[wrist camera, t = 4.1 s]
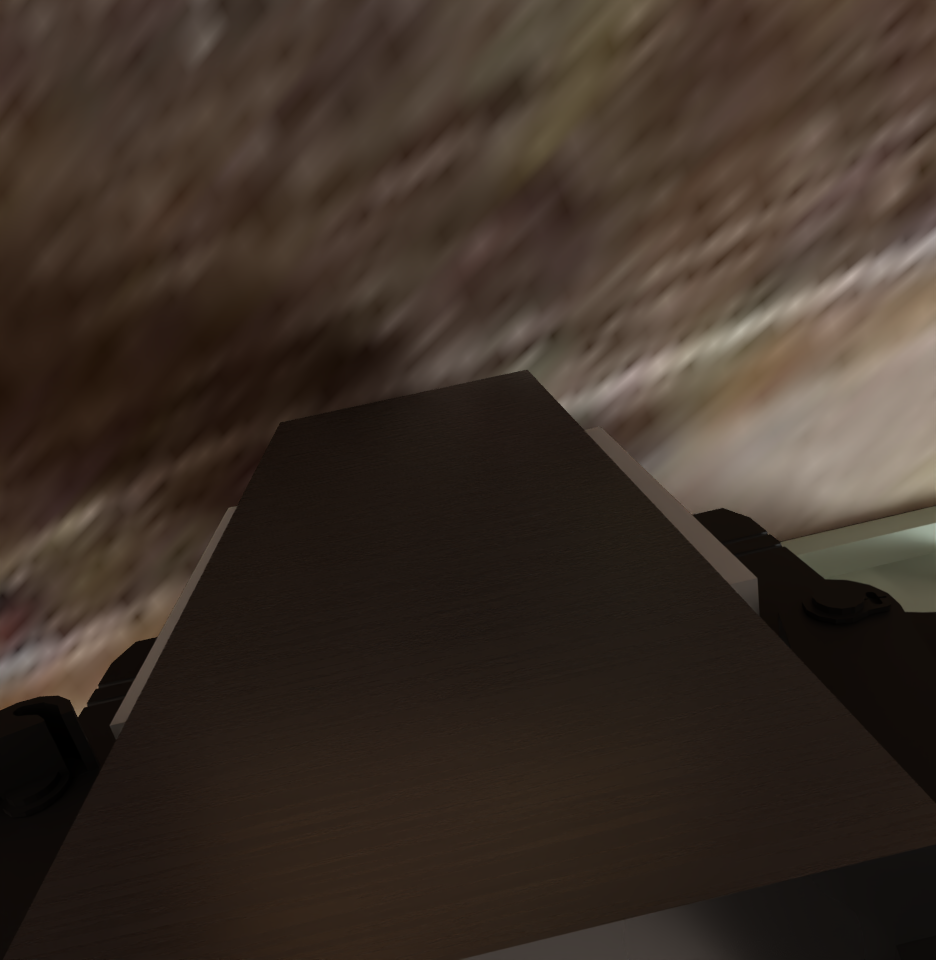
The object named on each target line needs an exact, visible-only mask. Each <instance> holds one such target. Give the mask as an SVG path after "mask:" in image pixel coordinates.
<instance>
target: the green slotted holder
mask: <svg viewBox="0 0 936 960" xmlns="http://www.w3.org/2000/svg"><path fill="white" fill-rule="evenodd" d="M780 543H781V545H782V547H784V546H785V547H786V548H788V549H789V550H790V551H791V552H792V553H794V554H795V555H796V556H797V557H799V558H800V559H801V560H802V561H803V562H805V563H806V564H807V565H808V566H810V567H811V568H812V569H813V570H814V571H816V572H817V573H818V574H819V575H821V576H822V577H823V578H824V579H834V580H850V581H855V582H859V583H864V584H869V585H871V586H874V587H876V588H878V589H880V590H882V591H885V592H887V593H889V594H890V595H891V596H892V597H893V598H894V599H895V600H896V601H897V602H898V603H899V604H900V605H901V606H902V608H903V609H904V611H905V612H936V506H933V507H929V508H925V509H920V510H916V511H912V512H907V513H903V514H899V515H895V516H890V517H886V518H882V519H877V520H873V521H869V522H865V523H860V524H856V525H852V526H847V527H843V528H839V529H835V530H830V531H826V532H822V533H817V534H813V535H809V536H804V537H800V538H796V539H792V540H787V541H783V542H780Z"/></svg>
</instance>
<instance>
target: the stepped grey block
mask: <svg viewBox="0 0 936 960" xmlns="http://www.w3.org/2000/svg"><path fill="white" fill-rule="evenodd" d="M935 935H936V803H935V802H934V801H933V800H932V799H931V798H930V797H929V796H928V795H927V794H926V793H925V791H924V790H923V789H922V788H921V787H920V786H919V785H918V784H917V783H916V782H915V781H914V780H913V779H912V778H911V777H910V776H909V774H908V773H907V772H906V771H905V770H904V769H903V768H902V767H901V766H900V765H899V764H898V763H897V762H896V761H895V760H894V759H893V757H892V756H891V755H890V754H889V753H888V752H887V751H886V750H885V749H884V748H883V747H882V746H881V745H880V744H879V743H878V742H877V740H876V739H875V738H874V737H873V736H872V735H871V734H870V733H869V732H868V731H867V730H866V729H865V728H864V727H863V726H862V725H861V724H860V722H859V721H858V720H857V719H856V718H855V717H854V716H853V715H852V714H851V713H850V712H849V711H848V710H847V709H846V708H845V707H844V705H843V704H842V703H841V702H840V701H839V700H838V699H837V698H836V697H835V696H834V695H833V694H832V693H831V692H830V691H829V690H828V688H827V687H826V686H825V685H824V684H823V683H822V682H821V681H820V680H819V679H818V678H817V677H816V676H815V675H814V674H813V673H812V671H811V670H810V669H809V668H808V667H807V666H806V665H805V664H804V663H803V662H802V661H801V660H800V659H799V658H798V657H797V656H796V654H795V653H794V652H793V651H792V650H791V649H790V648H789V647H788V646H787V645H786V644H785V643H784V642H783V641H782V640H781V639H780V638H779V636H778V635H777V634H776V633H775V632H774V631H773V630H772V629H771V628H770V627H769V626H768V625H767V624H766V623H765V622H764V621H763V619H762V618H761V617H760V616H759V615H758V614H757V613H756V612H755V611H754V610H753V609H752V608H751V607H750V606H749V605H748V604H747V602H746V601H745V600H744V599H743V598H742V597H741V596H740V595H739V594H738V593H737V592H736V591H735V590H734V589H733V588H732V587H731V585H730V584H729V583H728V582H727V581H726V580H725V579H724V578H723V577H722V576H721V575H720V574H719V573H718V572H717V571H716V570H715V568H714V567H713V566H712V565H711V564H710V563H709V562H708V561H707V560H706V559H705V558H704V557H703V556H702V555H701V554H700V553H699V552H698V550H697V549H696V548H695V547H694V546H693V545H692V544H691V543H690V542H689V541H688V540H687V539H686V538H685V537H684V536H683V535H682V533H681V532H680V531H679V530H678V529H677V528H676V527H675V526H674V525H673V524H672V523H671V522H670V521H669V520H668V519H667V518H666V516H665V515H664V514H663V513H662V512H661V511H660V510H659V509H658V508H657V507H656V506H655V505H654V504H653V503H652V502H651V501H650V499H649V498H648V497H647V496H646V495H645V494H644V493H643V492H642V491H641V490H640V489H639V488H638V487H637V486H636V485H635V484H634V482H633V481H632V480H631V479H630V478H629V477H628V476H627V475H626V474H625V473H624V472H623V471H622V470H621V469H620V468H619V467H618V465H617V464H616V463H615V462H614V461H613V460H612V459H611V458H610V457H609V456H608V455H607V454H606V453H605V452H604V451H603V450H602V449H601V447H600V446H599V445H598V444H597V443H596V442H595V441H594V440H593V439H592V438H591V437H590V436H589V435H588V434H587V433H586V432H585V430H584V429H583V428H582V427H581V426H580V425H579V424H578V423H577V422H576V421H575V420H574V419H573V418H572V417H571V416H570V415H569V413H568V412H567V411H566V410H565V409H564V408H563V407H562V406H561V405H560V404H559V403H558V402H557V401H556V400H555V399H554V398H553V396H552V395H551V394H550V393H549V392H548V391H547V390H546V389H545V388H544V387H543V386H542V385H541V384H540V383H539V382H538V381H537V379H536V378H535V377H534V376H533V375H532V374H531V373H530V372H529V371H528V370H523V371H519V372H514V373H509V374H505V375H500V376H495V377H491V378H486V379H481V380H477V381H472V382H468V383H463V384H458V385H454V386H449V387H444V388H440V389H435V390H430V391H426V392H421V393H416V394H412V395H407V396H402V397H398V398H393V399H388V400H384V401H379V402H375V403H370V404H365V405H361V406H356V407H351V408H347V409H342V410H337V411H333V412H328V413H323V414H319V415H314V416H309V417H305V418H300V419H295V420H291V421H286V422H281V423H280V424H279V426H278V428H277V430H276V432H275V434H274V436H273V438H272V440H271V442H270V444H269V446H268V447H267V449H266V451H265V453H264V455H263V457H262V459H261V461H260V463H259V465H258V467H257V469H256V471H255V473H254V475H253V476H252V478H251V480H250V482H249V484H248V486H247V488H246V490H245V492H244V494H243V496H242V498H241V500H240V502H239V504H238V506H237V507H236V509H235V511H234V513H233V515H232V517H231V519H230V521H229V523H228V525H227V527H226V529H225V531H224V533H223V535H222V536H221V538H220V540H219V542H218V544H217V546H216V548H215V550H214V552H213V554H212V556H211V558H210V560H209V562H208V564H207V566H206V567H205V569H204V571H203V573H202V575H201V577H200V579H199V581H198V583H197V585H196V587H195V589H194V591H193V593H192V595H191V596H190V598H189V600H188V602H187V604H186V606H185V608H184V610H183V612H182V614H181V616H180V618H179V620H178V622H177V624H176V625H175V627H174V629H173V631H172V633H171V635H170V637H169V639H168V641H167V643H166V645H165V647H164V649H163V651H162V653H161V655H160V656H159V658H158V660H157V662H156V664H155V666H154V668H153V670H152V672H151V674H150V676H149V678H148V680H147V682H146V684H145V685H144V687H143V689H142V691H141V693H140V695H139V697H138V699H137V701H136V703H135V705H134V707H133V709H132V711H131V713H130V715H129V716H128V718H127V720H126V722H125V724H124V726H123V728H122V730H121V732H120V734H119V736H118V738H117V740H116V742H115V744H114V745H113V747H112V749H111V751H110V753H109V755H108V757H107V759H106V761H105V763H104V765H103V767H102V769H101V771H100V773H99V774H98V776H97V778H96V780H95V782H94V784H93V786H92V788H91V790H90V792H89V794H88V796H87V798H86V800H85V802H84V804H83V805H82V807H81V809H80V811H79V813H78V815H77V817H76V819H75V821H74V823H73V825H72V827H71V829H70V831H69V833H68V834H67V836H66V838H65V840H64V842H63V844H62V846H61V848H60V850H59V852H58V854H57V856H56V858H55V860H54V862H53V864H52V865H51V867H50V869H49V871H48V873H47V875H46V877H45V879H44V881H43V883H42V885H41V887H40V889H39V891H38V893H37V894H36V896H35V898H34V900H33V902H32V904H31V906H30V908H29V910H28V912H27V914H26V916H25V918H24V920H23V922H22V924H21V925H20V927H19V929H18V931H17V933H16V935H15V937H14V939H13V941H12V943H11V945H10V947H9V949H8V951H7V953H6V954H5V956H4V958H3V960H895V951H896V945H899V944H903V943H907V942H911V941H915V940H919V939H923V938H927V937H931V936H935Z"/></svg>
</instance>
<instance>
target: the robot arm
mask: <svg viewBox="0 0 936 960" xmlns="http://www.w3.org/2000/svg"><path fill="white" fill-rule="evenodd" d="M585 432H586V433H587V434H588V435H589V436H590V437H591V438H592V439H593V440H594V441H595V442H596V443H597V444H598V445H599V446H600V447H601V449H602V450H603V451H604V452H605V453H606V454H607V455H608V456H609V457H610V458H611V459H612V460H613V461H614V462H615V463H616V464H617V465H618V467H619V468H620V469H621V470H622V471H623V472H624V473H625V474H626V475H627V476H628V477H629V478H630V479H631V480H632V481H633V482H634V484H635V485H636V486H637V487H638V488H639V489H640V490H641V491H642V492H643V493H644V494H645V495H646V496H647V497H648V498H649V499H650V501H651V502H652V503H653V504H654V505H655V506H656V507H657V508H658V509H659V510H660V511H661V512H662V513H663V514H664V515H665V516H666V518H667V519H668V520H669V521H670V522H671V523H672V524H673V525H674V526H675V527H676V528H677V529H678V530H679V531H680V532H681V533H682V535H683V536H684V537H685V538H686V539H687V540H688V541H689V542H690V543H691V544H692V545H693V546H694V547H695V548H696V549H697V550H698V552H699V553H700V554H701V555H702V556H703V557H704V558H705V559H706V560H707V561H708V562H709V563H710V564H711V565H712V566H713V567H714V568H715V570H716V571H717V572H718V573H719V574H720V575H721V576H722V577H723V578H724V579H725V580H726V581H727V582H728V583H729V584H730V585H731V587H732V588H733V589H734V590H735V591H736V592H737V593H738V594H739V595H740V596H741V597H742V598H743V599H744V600H745V601H746V602H747V604H748V605H749V606H750V607H751V608H752V609H753V610H754V611H755V612H756V613H757V614H758V615H759V616H760V617H761V618H762V619H763V621H764V622H765V623H766V624H767V625H768V626H769V627H770V628H771V629H772V630H773V631H774V632H775V633H776V634H777V635H778V636H779V638H780V639H781V640H782V641H783V642H784V643H785V644H786V645H787V646H788V647H789V648H790V649H791V650H792V651H793V652H794V653H795V654H796V656H797V657H798V658H799V659H800V660H801V661H802V662H803V663H804V664H805V665H806V666H807V667H808V668H809V669H810V670H811V671H812V673H813V674H814V675H815V676H816V677H817V678H818V679H819V680H820V681H821V682H822V683H823V684H824V685H825V686H826V687H827V688H828V690H829V691H830V692H831V693H832V694H833V695H834V696H835V697H836V698H837V699H838V700H839V701H840V702H841V703H842V704H843V705H844V707H845V708H846V709H847V710H848V711H849V712H850V713H851V714H852V715H853V716H854V717H855V718H856V719H857V720H858V721H859V722H860V724H861V725H862V726H863V727H864V728H865V729H866V730H867V731H868V732H869V733H870V734H871V735H872V736H873V737H874V738H875V739H876V740H877V742H878V743H879V744H880V745H881V746H882V747H883V748H884V749H885V750H886V751H887V752H888V753H889V754H890V755H891V756H892V757H893V759H894V760H895V761H896V762H897V763H898V764H899V765H900V766H901V767H902V768H903V769H904V770H905V771H906V772H907V773H908V774H909V776H910V777H911V778H912V779H913V780H914V781H915V782H916V783H917V784H918V785H919V786H920V787H921V788H922V789H923V790H924V791H925V793H926V794H927V795H928V796H929V797H930V798H931V799H932V800H933V801H934V802H935V803H936V612H905V611H904V609H903V608H902V606H901V605H900V604H899V603H898V602H897V601H896V600H895V599H894V598H893V597H892V596H891V595H890V594H889V593H887V592H885V591H882V590H880V589H878V588H876V587H874V586H871V585H869V584H864V583H859V582H855V581H850V580H834V579H824V578H823V577H822V576H821V575H819V574H818V573H817V572H816V571H814V570H813V569H812V568H811V567H810V566H808V565H807V564H806V563H805V562H803V561H802V560H801V559H800V558H799V557H797V556H796V555H795V554H794V553H792V552H791V551H790V550H789V549H788V548H786V547H785V546H784V547H782V545H781V543H780V542H779V541H778V540H777V539H775V538H774V537H773V536H772V535H768V534H767V531H766V530H764V529H763V528H762V527H761V526H759V525H758V524H757V523H756V522H755V521H753V520H752V519H751V518H750V517H747V516H744V515H741V514H738V513H735V512H733V511H730V510H727V509H724V508H721V509H716V510H712V511H707V512H703V513H699V514H694V515H691V514H690V513H689V512H688V511H687V510H686V509H685V508H684V507H683V506H682V505H681V504H680V503H679V502H678V501H677V500H676V499H675V498H674V497H673V496H672V495H671V494H670V493H669V492H668V491H667V490H666V489H664V488H663V487H662V486H661V485H660V484H659V483H658V482H657V481H656V480H655V479H654V478H653V477H652V476H651V475H650V474H649V473H648V472H647V471H646V470H645V469H644V468H643V467H642V466H641V465H640V464H639V463H638V462H637V461H635V460H634V459H633V458H632V457H631V456H630V455H629V454H628V453H627V452H626V451H625V450H624V449H623V448H622V447H621V446H620V445H619V444H618V443H617V442H616V441H615V440H614V439H613V438H612V437H611V436H610V435H609V434H607V433H606V432H605V431H604V430H603V429H602V428H601V427H596V428H591V429H587V430H585ZM236 507H237V506H235V507H230V508H228V509H227V511H226V513H225V515H224V517H223V518H222V520H221V522H220V524H219V526H218V528H217V529H216V531H215V533H214V535H213V537H212V539H211V540H210V542H209V544H208V546H207V548H206V550H205V551H204V553H203V555H202V557H201V559H200V561H199V562H198V564H197V566H196V568H195V570H194V572H193V573H192V575H191V577H190V579H189V581H188V583H187V584H186V586H185V588H184V590H183V592H182V594H181V595H180V597H179V599H178V601H177V603H176V605H175V606H174V608H173V610H172V612H171V614H170V616H169V617H168V619H167V621H166V623H165V625H164V627H163V628H162V630H161V632H160V634H159V636H158V637H155V638H151V639H147V640H142V641H138V642H135V643H134V644H133V645H132V646H131V647H130V648H128V649H127V650H126V651H125V652H124V653H123V654H122V655H120V656H119V657H118V658H117V659H116V660H115V661H114V662H113V663H111V665H110V667H109V668H108V670H107V672H106V673H105V675H104V676H103V678H102V680H101V681H100V683H99V685H98V686H99V689H95V691H94V693H93V694H92V696H91V697H90V699H89V701H88V702H87V705H88V707H85V708H84V709H83V710H82V712H81V714H80V715H79V717H77V715H76V713H75V711H74V708H73V706H72V704H71V702H70V700H68V699H65V698H63V697H60V696H43V697H37V698H33V699H30V700H26V701H23V702H19V703H16V704H14V705H12V706H9V707H7V708H5V709H3V710H1V711H0V960H3V958H4V956H5V954H6V953H7V951H8V949H9V947H10V945H11V943H12V941H13V939H14V937H15V935H16V933H17V931H18V929H19V927H20V925H21V924H22V922H23V920H24V918H25V916H26V914H27V912H28V910H29V908H30V906H31V904H32V902H33V900H34V898H35V896H36V894H37V893H38V891H39V889H40V887H41V885H42V883H43V881H44V879H45V877H46V875H47V873H48V871H49V869H50V867H51V865H52V864H53V862H54V860H55V858H56V856H57V854H58V852H59V850H60V848H61V846H62V844H63V842H64V840H65V838H66V836H67V834H68V833H69V831H70V829H71V827H72V825H73V823H74V821H75V819H76V817H77V815H78V813H79V811H80V809H81V807H82V805H83V804H84V802H85V800H86V798H87V796H88V794H89V792H90V790H91V788H92V786H93V784H94V782H95V780H96V778H97V776H98V774H99V773H100V771H101V769H102V767H103V765H104V763H105V761H106V759H107V757H108V755H109V753H110V751H111V749H112V747H113V745H114V744H115V742H116V740H117V738H118V736H119V734H120V732H121V730H122V728H123V726H124V724H125V722H126V720H127V718H128V716H129V715H130V713H131V711H132V709H133V707H134V705H135V703H136V701H137V699H138V697H139V695H140V693H141V691H142V689H143V687H144V685H145V684H146V682H147V680H148V678H149V676H150V674H151V672H152V670H153V668H154V666H155V664H156V662H157V660H158V658H159V656H160V655H161V653H162V651H163V649H164V647H165V645H166V643H167V641H168V639H169V637H170V635H171V633H172V631H173V629H174V627H175V625H176V624H177V622H178V620H179V618H180V616H181V614H182V612H183V610H184V608H185V606H186V604H187V602H188V600H189V598H190V596H191V595H192V593H193V591H194V589H195V587H196V585H197V583H198V581H199V579H200V577H201V575H202V573H203V571H204V569H205V567H206V566H207V564H208V562H209V560H210V558H211V556H212V554H213V552H214V550H215V548H216V546H217V544H218V542H219V540H220V538H221V536H222V535H223V533H224V531H225V529H226V527H227V525H228V523H229V521H230V519H231V517H232V515H233V513H234V511H235V509H236ZM895 960H936V935H935V936H931V937H927V938H923V939H919V940H915V941H911V942H907V943H903V944H899V945H896V951H895Z"/></svg>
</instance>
